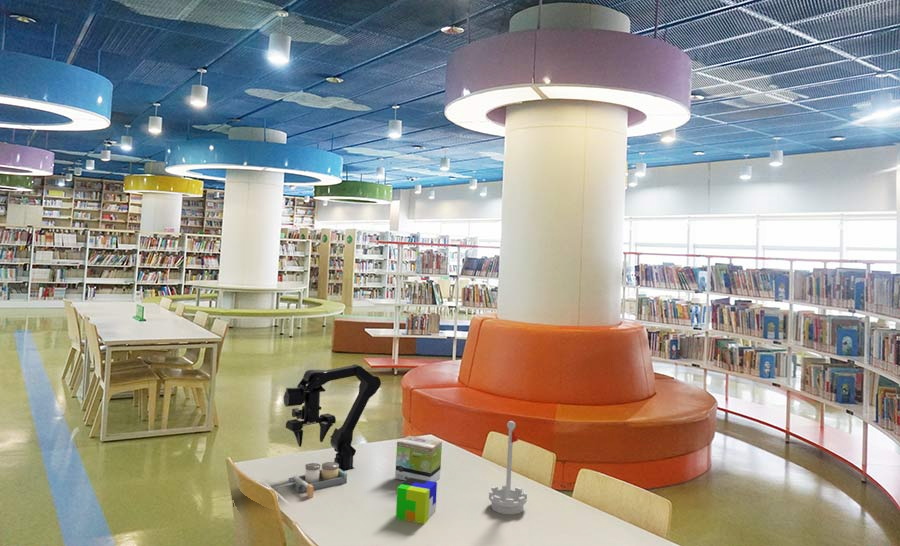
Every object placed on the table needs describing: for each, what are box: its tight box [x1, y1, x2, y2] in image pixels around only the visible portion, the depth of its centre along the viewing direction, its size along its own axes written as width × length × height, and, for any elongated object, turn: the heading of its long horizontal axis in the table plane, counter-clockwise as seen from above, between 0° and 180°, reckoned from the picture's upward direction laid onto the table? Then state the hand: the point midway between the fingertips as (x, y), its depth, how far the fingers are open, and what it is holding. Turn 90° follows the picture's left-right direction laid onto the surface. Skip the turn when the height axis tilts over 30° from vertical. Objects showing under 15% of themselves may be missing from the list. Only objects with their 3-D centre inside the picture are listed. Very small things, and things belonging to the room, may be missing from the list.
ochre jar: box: [321, 461, 339, 481], centre depth 216 cm, size 6×6×6 cm
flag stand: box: [488, 420, 528, 515], centre depth 200 cm, size 13×13×30 cm
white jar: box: [304, 462, 321, 484], centre depth 211 cm, size 5×5×7 cm
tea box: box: [394, 435, 443, 482], centre depth 223 cm, size 15×10×15 cm, turn 68°
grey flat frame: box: [287, 468, 348, 494], centre depth 213 cm, size 18×10×4 cm, turn 128°
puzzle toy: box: [395, 478, 438, 525], centre depth 191 cm, size 10×10×10 cm
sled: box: [273, 474, 314, 499], centre depth 203 cm, size 10×14×4 cm
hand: (310, 444), depth 222 cm, fingers open, 9 cm apart
